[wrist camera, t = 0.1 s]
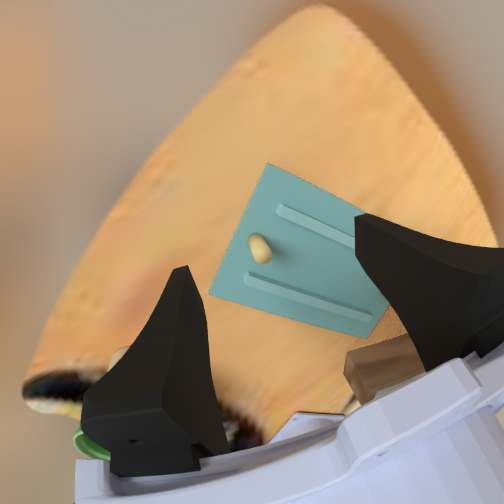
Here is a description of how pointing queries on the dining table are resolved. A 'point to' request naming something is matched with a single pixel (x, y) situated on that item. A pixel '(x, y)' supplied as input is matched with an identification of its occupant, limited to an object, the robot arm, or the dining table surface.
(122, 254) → the dining table surface
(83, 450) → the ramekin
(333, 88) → the dining table surface
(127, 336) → the dining table surface
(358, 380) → the walnut frame
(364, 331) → the light blue peg board
